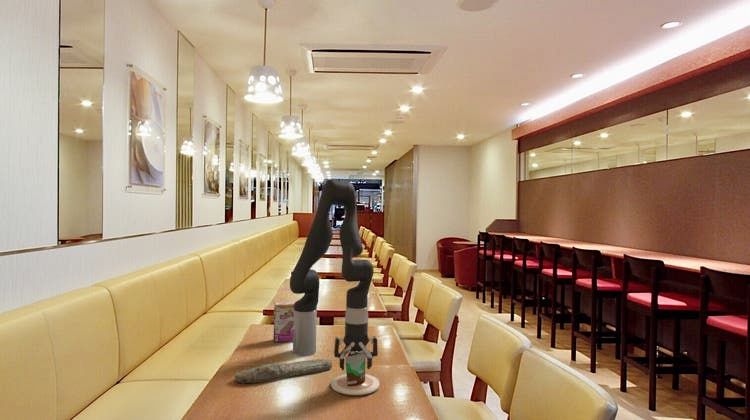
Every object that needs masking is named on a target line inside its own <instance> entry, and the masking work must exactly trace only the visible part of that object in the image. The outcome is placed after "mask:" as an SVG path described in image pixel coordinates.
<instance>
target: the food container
mask: <svg viewBox="0 0 750 420" xmlns="http://www.w3.org/2000/svg"><path fill="white" fill-rule="evenodd" d="M366 359H367V354H366V353H365V352H364V351H363V350H362V351H360V352H359V351H354V352H351V351H349V352H348V354H347V355H345V357H344V364H345V370H346V371H345V374H347V385H348V386H356V385H360V384H362V383H364V382H365V374H366Z"/></svg>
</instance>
